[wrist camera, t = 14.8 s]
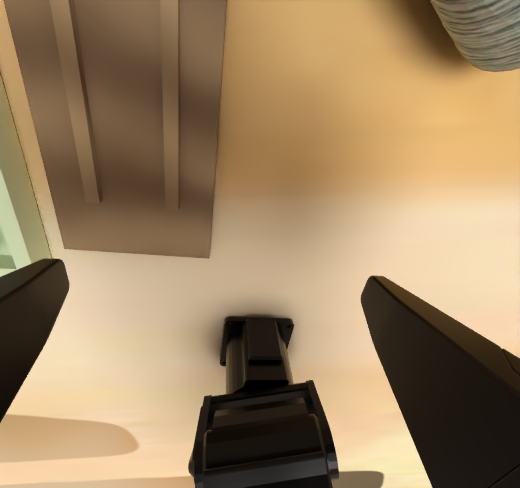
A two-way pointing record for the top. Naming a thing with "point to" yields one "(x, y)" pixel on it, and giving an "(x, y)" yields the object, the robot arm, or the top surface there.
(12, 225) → the tray
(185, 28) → the holder board
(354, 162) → the top surface
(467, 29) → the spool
